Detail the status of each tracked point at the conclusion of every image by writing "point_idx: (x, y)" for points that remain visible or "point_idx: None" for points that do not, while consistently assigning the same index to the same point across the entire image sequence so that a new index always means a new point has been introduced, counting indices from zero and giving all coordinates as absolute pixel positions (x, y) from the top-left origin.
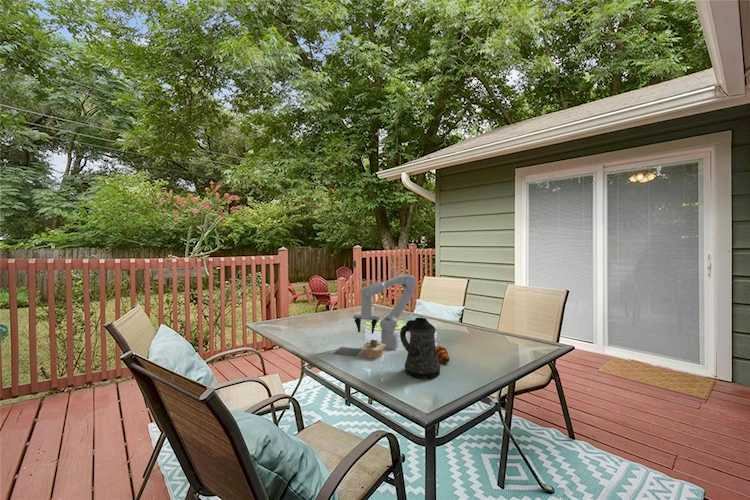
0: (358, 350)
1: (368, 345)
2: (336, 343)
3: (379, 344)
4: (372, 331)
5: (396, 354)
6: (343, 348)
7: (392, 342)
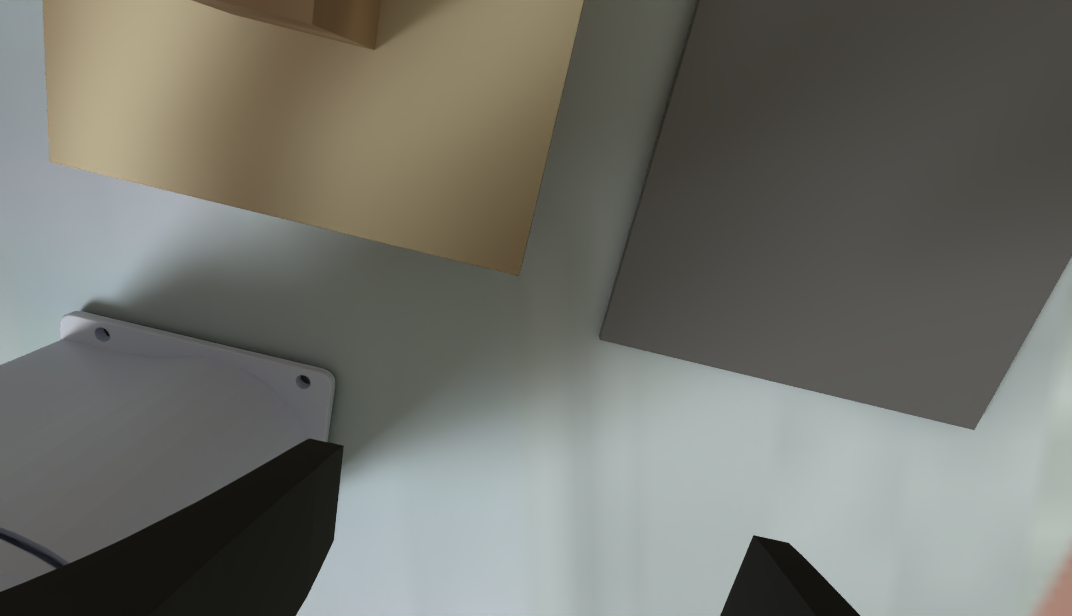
0: (674, 256)
1: (458, 16)
2: (1010, 606)
3: (197, 120)
4: (273, 463)
5: (15, 107)
6: (937, 355)
7: (24, 397)
